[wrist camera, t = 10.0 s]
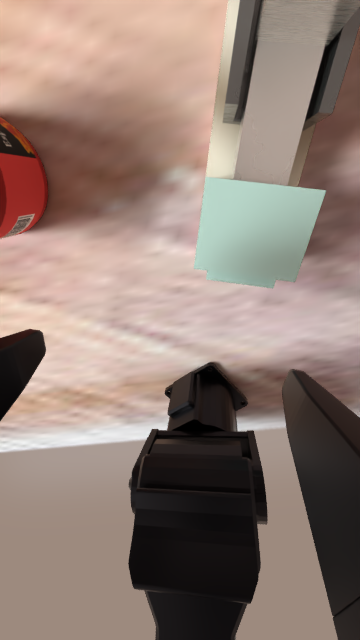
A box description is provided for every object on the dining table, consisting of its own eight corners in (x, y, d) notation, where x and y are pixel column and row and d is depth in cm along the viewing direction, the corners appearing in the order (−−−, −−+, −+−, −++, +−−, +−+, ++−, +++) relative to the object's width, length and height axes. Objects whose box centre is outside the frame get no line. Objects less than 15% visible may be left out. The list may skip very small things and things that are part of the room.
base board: (253, -186, 11) (256, -219, 10) (397, -183, 10) (414, -216, 10) (195, 257, 20) (194, 260, 19) (270, 266, 20) (273, 270, 19)
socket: (208, 178, 17) (205, 176, 12) (293, 188, 16) (326, 190, 12) (197, 258, 19) (192, 282, 14) (271, 267, 19) (290, 295, 14)
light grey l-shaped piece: (263, -24, 12) (485, -966, 2) (330, -20, 11) (904, -1029, 2) (218, 242, 17) (222, 313, 8) (261, 248, 17) (319, 326, 8)
